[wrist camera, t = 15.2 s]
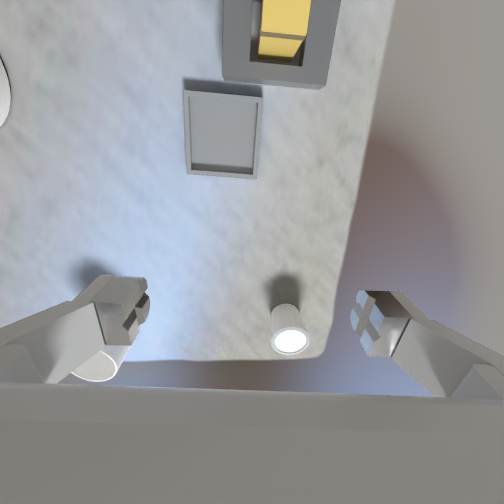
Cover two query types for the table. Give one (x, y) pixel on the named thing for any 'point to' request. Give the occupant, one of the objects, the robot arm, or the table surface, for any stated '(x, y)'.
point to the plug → (282, 28)
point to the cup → (102, 363)
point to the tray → (222, 134)
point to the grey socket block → (268, 71)
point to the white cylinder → (288, 330)
